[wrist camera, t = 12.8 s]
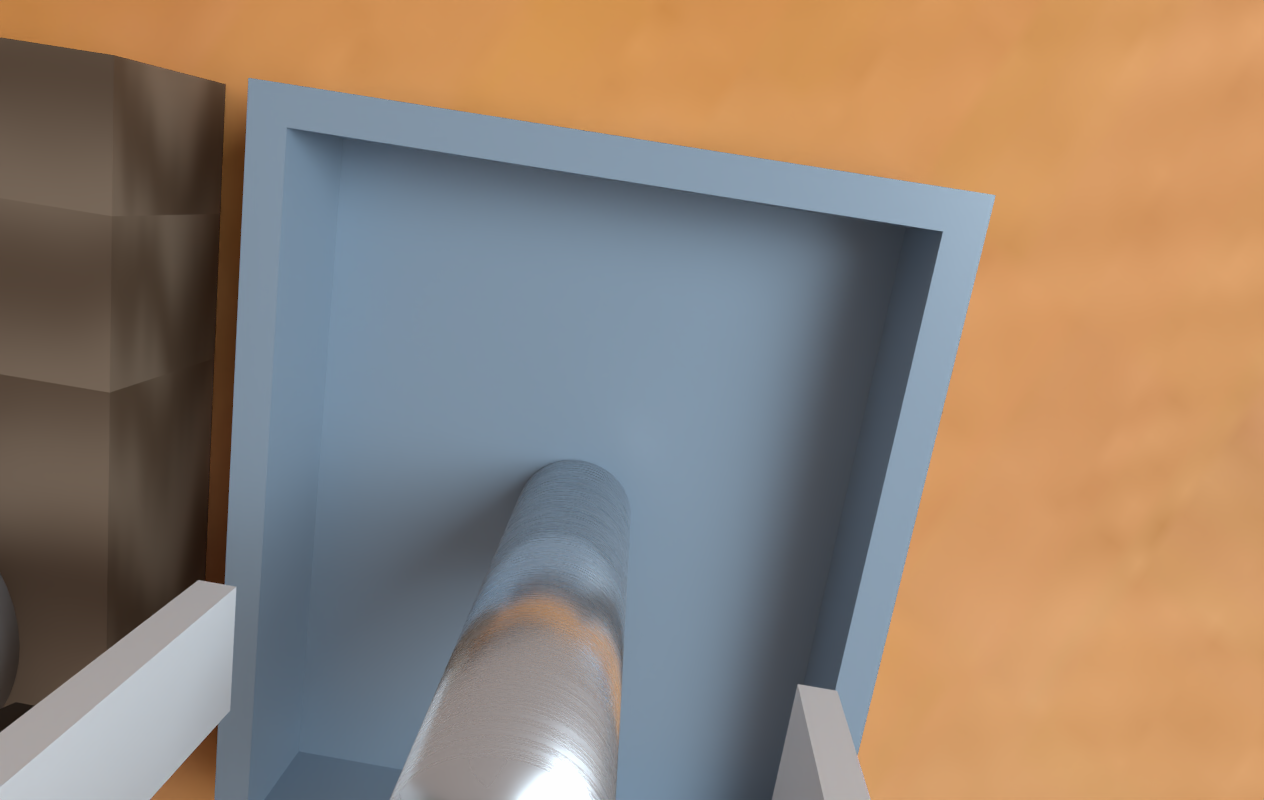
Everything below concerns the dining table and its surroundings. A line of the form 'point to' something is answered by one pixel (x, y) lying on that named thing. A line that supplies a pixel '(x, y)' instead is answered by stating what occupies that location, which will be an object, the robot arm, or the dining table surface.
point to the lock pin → (536, 655)
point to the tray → (569, 424)
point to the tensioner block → (101, 350)
